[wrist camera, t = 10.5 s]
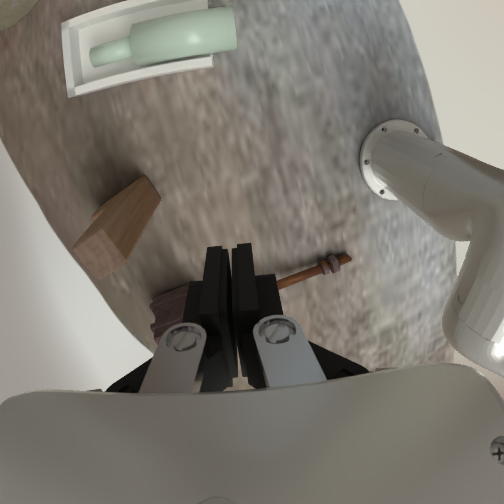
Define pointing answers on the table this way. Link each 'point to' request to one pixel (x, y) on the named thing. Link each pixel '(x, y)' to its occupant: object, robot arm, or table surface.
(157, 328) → the hammer
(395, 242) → the table surface
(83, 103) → the table surface
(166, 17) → the bottle
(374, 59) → the table surface
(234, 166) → the table surface
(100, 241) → the wooden block
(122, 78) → the u rest
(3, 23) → the padlock
